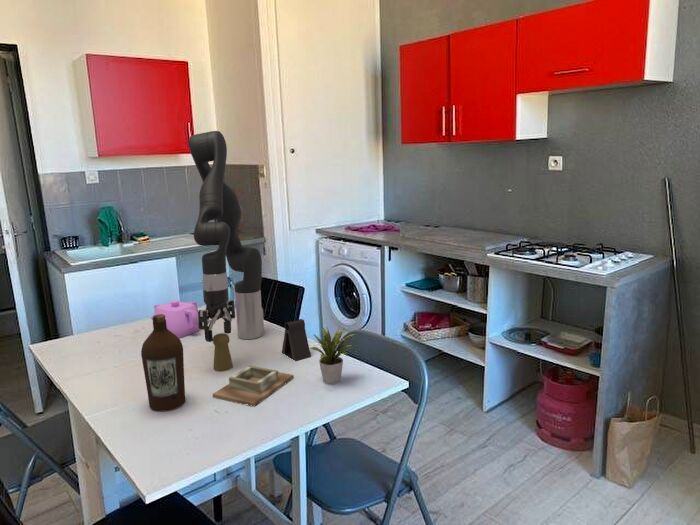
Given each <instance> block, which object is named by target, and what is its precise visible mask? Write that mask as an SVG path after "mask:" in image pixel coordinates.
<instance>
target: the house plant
mask: <svg viewBox="0 0 700 525" xmlns="http://www.w3.org/2000/svg"><path fill="white" fill-rule="evenodd" d="M344 331H345V328H343V329H342V330H340V327H338V328H337V329H336V332H335V333H334V335H333V337H331V333H330V330H329V328H328V326H326V328H324V327H322V337H323V340H321V339H320V338H319V337H318V336H317V335H316V334H313V337H314V338H316V340H315V342H316V343H317V344H318V345H319V346H320V347H321V348H322V350H321V349H320V348H318V347H316V346H312V347H309V350H314V351H316V352H319V353H320V359H319V360H318V363H319V368H320V372H321V378H322V381H324V382H325V384H327V383H329V384H328V385H333V384H334V383H335V384H338V383H340V381H341V379H342V373H343V372H342V371H343V364H344V359H343V358H342V357H340V356H341V355H344V356H346V357H349V356H348V353H346V352H345V351H347V350H351V348H350V347H351V346H353V344H349V345H346V344H343V343H344V342H347V341H350V340H355V339H356V337H355V338H353V337H352V336H354V335H356V333H355V334H354V333H353V334H349V335H347V336H345V337H344V338H341V337H342V336H343V332H344ZM324 382H323V383H324ZM335 384H334V385H335Z"/></svg>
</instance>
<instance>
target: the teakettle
mask: <svg viewBox="0 0 700 525" xmlns="http://www.w3.org/2000/svg"><path fill="white" fill-rule="evenodd" d="M153 308H154V314H153V315H152V316H151V317H150V319H151V320H152V321H153V316H154V315H158V314H164V315H165V320H166V325H167V329H168V330H169V331H171V332H172V333H173V334H175V335H176V336H177V337H178V338H179V339H183V338H185V337H188V336H190V335H193V334H195V333H198V332H199V331H200V329H199V322H198V311H199V310H198V309H199V308H198V303H197V301H189V302H185V301H184V302H183V301H180V300H177V299H176V300H175V299H174V300H171V301H170V302H168V303H164V304H162V305H160V304H156V305H153Z"/></svg>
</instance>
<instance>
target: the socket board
mask: <svg viewBox="0 0 700 525" xmlns="http://www.w3.org/2000/svg"><path fill="white" fill-rule="evenodd" d="M294 376H295V375H294V374H292V373H291V374H290V373H287V372H286V373H284V372H280V371H279V370H276V369H272V368H271V369H270V368H267V367H260V366H255V365H249V366H247V367H245V368H243V369H242V370H240V371H239V372H237V373H235V374H233V375H232V376H230V377H229V378H228V384H226V385H225V386H222V387H221V388H220V389H219V390H217V391H215V392H214V393H212V398H213V399H218V400H222V399H223V401H227V400H228V402H231V401H232V403H235V402H237V403H236V404H240V403H241V404H240V405H244V404H248V405H252V406H251V407H253V406H254V405H256V404H257V403H258V404H260V403H261V402H262V400H263V399H264V400H265V399H267V398H268V397H269V395H270V394H271V393H272V394H274V393H275V392H276V391H277V389H278V388H279V389H281V388H282V387H283V386H285V385H286V384H288V383H289V382H290V381H292V380H293V379H294ZM292 378H293V379H292ZM291 379H292V380H291ZM288 381H289V382H288ZM285 383H286V384H285ZM284 384H285V385H284ZM281 386H282V387H281ZM280 387H281V388H280ZM279 389H278V390H279ZM275 390H276V391H275ZM274 391H275V392H274ZM273 392H274V393H273ZM272 394H271V395H272ZM271 395H270V396H271ZM267 396H268V397H267ZM266 397H267V398H266ZM264 400H263V401H264ZM260 401H261V402H260ZM259 402H260V403H259ZM258 404H257V405H258ZM248 405H247V406H248ZM257 405H256V406H257ZM254 407H255V406H254Z"/></svg>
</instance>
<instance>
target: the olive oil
mask: <svg viewBox="0 0 700 525" xmlns="http://www.w3.org/2000/svg"><path fill="white" fill-rule="evenodd" d="M152 316H153V320H152V329H153V330H152V332H151V333H150V334H149V335H148V336H147V337H146V339H145V340H144V341H143V343H142V347H141V350H140V356H141V361H142V362H141V363H142V366H143V372H144V379H145V385H146V391H147V392H146V393H147V398H148V406H149V408H150V409H151V410H153V411H155V412H166V411H172V410H175V409H178V408H180V407H182V406H183V405H184V404H185V402H186V388H185V387H186V386H185V365H184V346H183V343H182V341H181V338H178V337H177V336H176V335H175V334H173V333H172V332H171V331H169V330H168V329H167V325H166V320H165V315H164V314H158V315H154V314H153V315H152Z"/></svg>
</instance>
